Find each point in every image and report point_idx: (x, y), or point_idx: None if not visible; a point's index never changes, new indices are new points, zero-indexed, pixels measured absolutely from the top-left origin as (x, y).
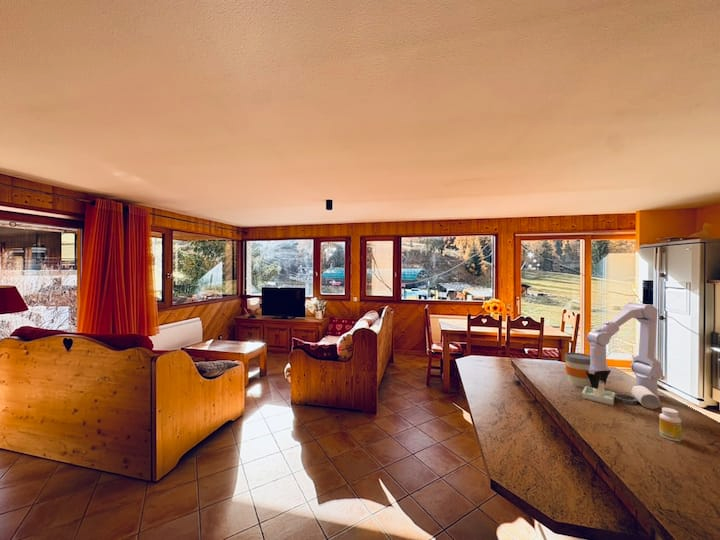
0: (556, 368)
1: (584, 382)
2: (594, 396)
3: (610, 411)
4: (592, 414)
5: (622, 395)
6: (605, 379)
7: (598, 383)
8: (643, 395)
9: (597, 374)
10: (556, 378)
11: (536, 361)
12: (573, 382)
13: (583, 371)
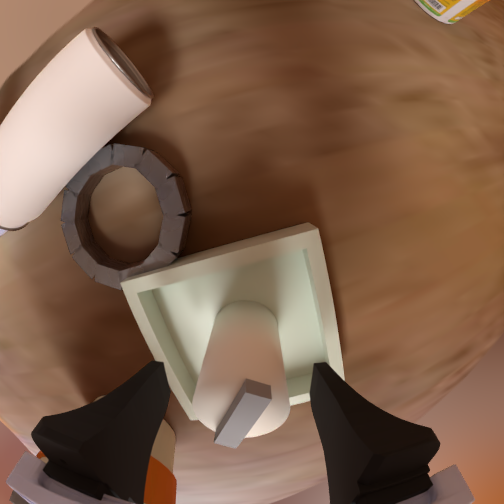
0: None
1: None
2: (336, 333)
3: (415, 200)
4: (493, 242)
5: (87, 247)
6: (138, 394)
7: (342, 390)
8: (118, 73)
9: (392, 474)
10: None
11: None
12: (173, 451)
13: None
